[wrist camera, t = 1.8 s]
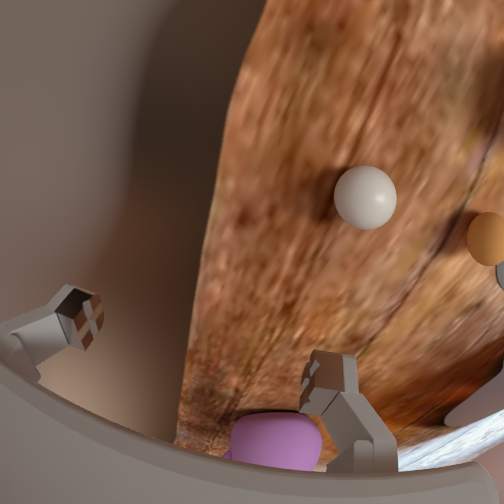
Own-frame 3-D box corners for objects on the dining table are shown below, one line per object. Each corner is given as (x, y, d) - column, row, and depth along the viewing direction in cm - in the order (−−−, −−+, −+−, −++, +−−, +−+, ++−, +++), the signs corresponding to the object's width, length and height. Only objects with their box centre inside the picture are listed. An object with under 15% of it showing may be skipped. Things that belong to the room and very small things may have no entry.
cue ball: (340, 151, 25) (348, 169, 20) (395, 167, 24) (413, 189, 20) (325, 204, 28) (328, 233, 23) (377, 218, 28) (389, 248, 23)
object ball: (471, 196, 24) (496, 222, 19) (503, 211, 24) (528, 237, 19) (451, 241, 27) (470, 271, 23) (483, 252, 27) (503, 281, 22)
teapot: (209, 408, 55) (191, 471, 43) (308, 401, 48) (301, 478, 35) (255, 446, 65) (244, 496, 53) (335, 441, 58) (331, 497, 45)
